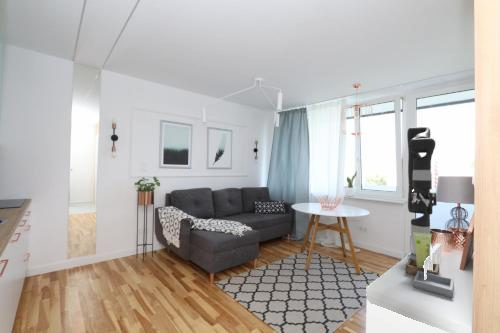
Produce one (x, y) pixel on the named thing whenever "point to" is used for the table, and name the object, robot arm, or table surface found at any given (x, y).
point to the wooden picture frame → (413, 269)
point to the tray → (434, 284)
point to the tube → (422, 247)
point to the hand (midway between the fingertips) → (422, 212)
